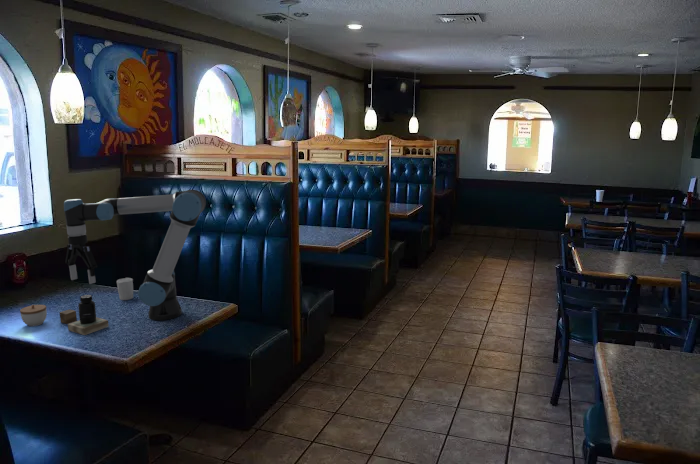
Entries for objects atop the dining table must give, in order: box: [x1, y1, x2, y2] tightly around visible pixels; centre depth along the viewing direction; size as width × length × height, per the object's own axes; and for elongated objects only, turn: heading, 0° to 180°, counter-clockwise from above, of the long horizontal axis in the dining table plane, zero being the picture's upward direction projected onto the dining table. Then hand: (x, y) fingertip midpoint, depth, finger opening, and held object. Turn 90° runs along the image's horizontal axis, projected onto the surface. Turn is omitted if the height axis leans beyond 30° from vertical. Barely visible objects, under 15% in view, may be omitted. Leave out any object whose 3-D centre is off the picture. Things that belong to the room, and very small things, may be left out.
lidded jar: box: [19, 304, 48, 327], centre depth 260 cm, size 11×11×9 cm
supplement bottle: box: [78, 294, 97, 324], centre depth 252 cm, size 7×7×12 cm
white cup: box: [116, 277, 134, 301], centre depth 295 cm, size 8×8×10 cm
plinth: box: [67, 316, 110, 336], centre depth 253 cm, size 12×12×3 cm
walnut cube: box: [59, 308, 78, 325], centre depth 263 cm, size 5×5×5 cm
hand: (83, 281), depth 249 cm, fingers open, 13 cm apart
